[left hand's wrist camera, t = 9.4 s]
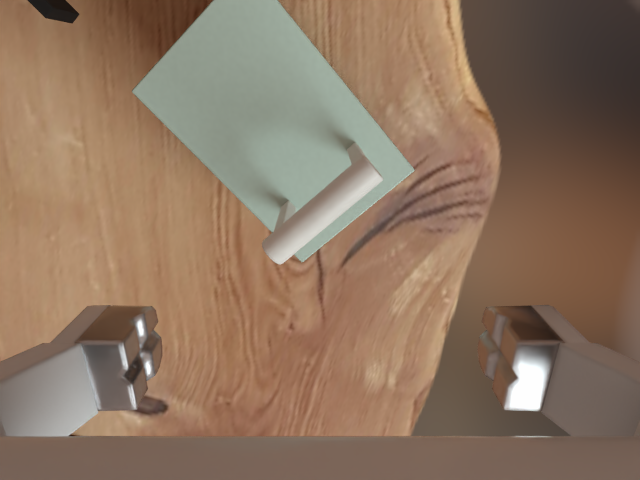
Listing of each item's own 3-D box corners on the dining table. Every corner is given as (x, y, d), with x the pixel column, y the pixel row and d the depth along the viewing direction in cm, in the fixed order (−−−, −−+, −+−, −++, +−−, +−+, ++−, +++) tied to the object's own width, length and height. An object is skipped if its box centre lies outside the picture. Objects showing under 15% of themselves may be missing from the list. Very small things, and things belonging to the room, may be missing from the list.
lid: (412, 167, 25) (449, 205, 18) (302, 257, 28) (296, 322, 20) (249, -35, 21) (213, -89, 14) (136, 90, 24) (56, 98, 17)
